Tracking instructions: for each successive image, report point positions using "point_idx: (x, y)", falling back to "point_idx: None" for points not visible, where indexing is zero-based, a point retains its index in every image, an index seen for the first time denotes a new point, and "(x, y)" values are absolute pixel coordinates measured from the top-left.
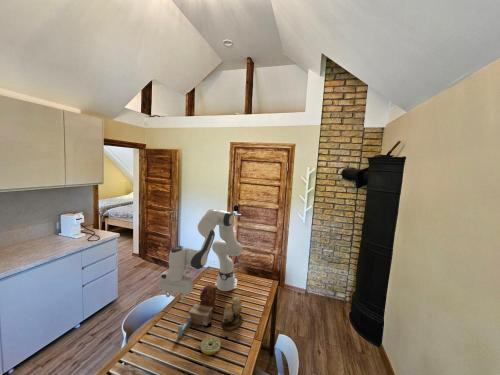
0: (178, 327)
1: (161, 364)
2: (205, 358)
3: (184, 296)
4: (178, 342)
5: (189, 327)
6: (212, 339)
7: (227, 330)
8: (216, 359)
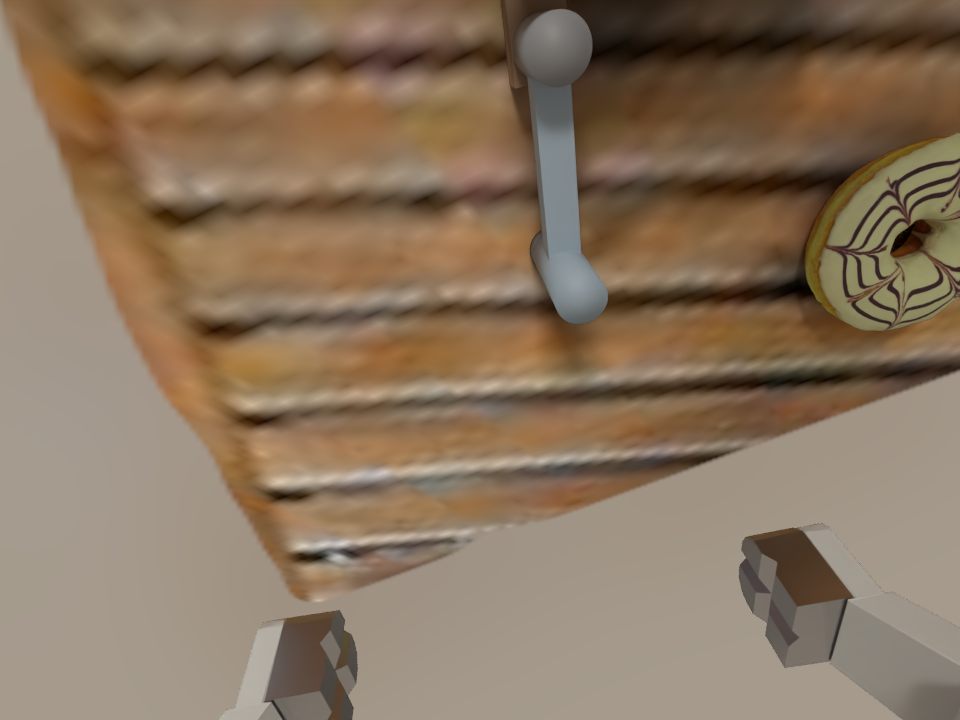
0: (569, 321)
1: (569, 479)
2: None
3: (871, 598)
4: None
5: None
6: (942, 200)
7: None
8: None
